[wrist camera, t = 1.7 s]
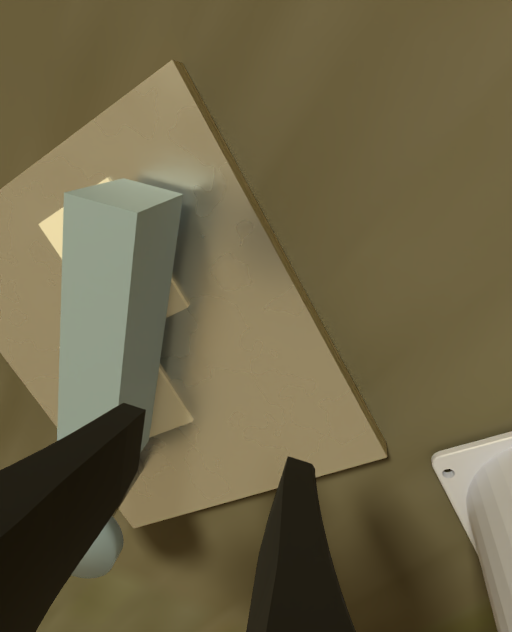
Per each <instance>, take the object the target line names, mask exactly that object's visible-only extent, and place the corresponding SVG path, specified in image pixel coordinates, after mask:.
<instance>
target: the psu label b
mask: <svg viewBox="0 0 512 632" xmlns="http://www.w3.org/2000/svg"><path fill="white" fill-rule="evenodd" d="M59 348H60V347H59ZM193 420H194V419H193V417H192V416H191V414H190V413H189V411H188V410H187V408H186V407H185V405H184V404H183V402H182V401H181V399H180V398H179V396H178V395H177V393H176V391H175V390H174V388H173V387H172V385H171V384H170V382H169V381H168V379H167V378H166V376H165V375H164V373H163V372H162V370H161V369H160V367H159V372H158V379H157V386H156V393H155V400H154V407H153V414H152V421H151V429H150V436H149V438H150V437H152V436H155V435H158V434H160V433H163V432H166V431H169V430H171V429H174V428H177V427H179V426H182V425H185V424H187V423H190V422H192V421H193Z"/></svg>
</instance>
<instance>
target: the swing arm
mask: <svg viewBox="0 0 512 632" xmlns="http://www.w3.org/2000/svg"><path fill="white" fill-rule="evenodd" d="M182 200H183V194H181V193H177V192H174V191H170V190H166V189H162V188H159V187H155V186H151V185H147V184H144V183H140V182H136V181H132V180H129V179H125V178H123V179H118V180H114V181H110V182H106V183H102V184H98V185H94V186H89V187H85V188H81V189H77V190H73V191H69V192H65V193H64V209H63V246H62V282H61V319H60V355H59V391H58V428H57V441H58V440H60V439H62V438H64V437H65V436H67V435H69V434H71V433H73V432H74V431H76V430H78V429H79V428H81V427H83V426H85V425H86V424H88V423H90V422H91V421H93V420H95V419H96V418H98V417H100V416H101V415H103V414H105V413H106V412H108V411H110V410H111V409H113V408H115V407H116V406H118V405H120V404H122V403H127V404H130V405H133V406H136V407H139V408H142V409H145V410H146V413H145V421H144V428H143V436H142V444H141V451H142V450H143V448H144V447H145V445H146V444H147V443H148V441H149V436H150V429H151V421H152V414H153V407H154V400H155V393H156V386H157V379H158V372H159V364H160V357H161V350H162V343H163V336H164V329H165V322H166V314H167V307H168V300H169V293H170V286H171V279H172V272H173V265H174V257H175V250H176V243H177V236H178V229H179V222H180V215H181V207H182ZM141 451H140V453H141ZM122 548H123V535H122V531H121V529H120V527H119V525H118V523H117V522H116V520H115V519H114V518H113V516H112V517H111V518H110V520H109V521H108V522H107V524H106V525H105V527H104V528H103V530H102V531H101V533H100V534H99V536H98V537H97V538H96V540H95V541H94V543H93V544H92V546H91V547H90V548H89V550H88V551H87V553H86V554H85V556H84V557H83V558H82V560H81V561H80V563H79V564H78V566H77V567H76V569H75V570H74V571H73V573H72V574H71V575H72V576H76V577H80V578H97V577H100V576H103V575H105V574H106V573H108V572H109V571H110V569H111V568H112V566H113V565H114V563H115V561H116V559H117V557H118V556H119V554H120V552H121V550H122Z"/></svg>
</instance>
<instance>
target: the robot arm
mask: <svg viewBox="0 0 512 632" xmlns="http://www.w3.org/2000/svg"><path fill="white" fill-rule="evenodd" d="M145 413H146V410H145V409H142V408H139V407H136V406H133V405H130V404H127V403H122V404H120V405H118V406H116V407H115V408H113V409H111V410H110V411H108V412H106V413H105V414H103V415H101V416H100V417H98V418H96V419H95V420H93V421H91V422H90V423H88V424H86V425H85V426H83V427H81V428H79V429H78V430H76V431H74V432H73V433H71V434H69V435H67V436H65V437H64V438H62V439H60V440H58V441H57V442H55V443H53V444H51V445H49V446H48V447H46V448H44V449H42V450H40V451H38V452H36V453H34V454H32V455H30V456H28V457H26V458H24V459H22V460H20V461H18V462H16V463H14V464H12V465H10V466H8V467H6V468H4V469H2V470H0V632H36V630H37V628H38V627H39V625H40V623H41V621H42V620H43V618H44V616H45V614H46V613H47V611H48V609H49V607H50V606H51V604H52V603H53V601H54V600H55V598H56V596H57V595H58V593H59V592H60V590H61V589H62V587H63V586H64V584H65V583H66V581H67V580H68V579H69V577H70V576H71V574H72V573H73V571H74V570H75V569H76V567H77V566H78V564H79V563H80V561H81V560H82V558H83V557H84V556H85V554H86V553H87V551H88V550H89V548H90V547H91V546H92V544H93V543H94V541H95V540H96V538H97V537H98V536H99V534H100V533H101V531H102V530H103V528H104V527H105V525H106V524H107V522H108V521H109V520H110V518H111V517H112V515H113V514H114V512H115V511H116V509H117V508H118V506H119V505H120V503H121V501H122V499H123V497H124V495H125V494H126V492H127V490H128V488H129V486H130V484H131V482H132V480H133V479H134V477H135V475H136V473H137V471H138V466H139V459H140V451H141V444H142V436H143V428H144V421H145ZM431 461H432V466H433V469H434V471H435V473H436V474H437V476H438V478H439V480H440V482H441V484H442V486H443V488H444V490H445V492H446V494H447V496H448V498H449V500H450V502H451V504H452V506H453V508H454V510H455V512H456V513H457V515H458V517H459V519H460V521H461V523H462V525H463V527H464V529H465V531H466V533H467V535H468V537H469V539H470V541H471V543H472V545H473V547H474V549H475V550H476V552H477V554H478V556H479V560H480V564H481V568H482V572H483V576H484V580H485V584H486V588H487V592H488V595H489V599H490V603H491V607H492V611H493V615H494V619H495V623H496V627H497V630H498V632H512V431H511V432H508V433H504V434H500V435H497V436H493V437H490V438H486V439H482V440H479V441H475V442H471V443H468V444H464V445H460V446H457V447H453V448H449V449H446V450H442V451H438V452H436V453H435V454H434V455H433V456H432V458H431ZM446 469H451V470H452V471H451V472H444V470H446ZM246 632H356V631H355V629H354V626H353V623H352V620H351V618H350V615H349V612H348V610H347V607H346V604H345V601H344V598H343V595H342V592H341V589H340V586H339V582H338V579H337V576H336V572H335V569H334V566H333V562H332V558H331V555H330V551H329V547H328V543H327V539H326V535H325V530H324V526H323V522H322V517H321V512H320V506H319V500H318V494H317V486H316V476H315V468H314V466H313V464H311V463H308V462H305V461H302V460H299V459H296V458H293V457H289V456H288V457H287V460H286V463H285V466H284V470H283V473H282V476H281V479H280V482H279V485H278V489H277V492H276V495H275V498H274V501H273V504H272V507H271V511H270V514H269V517H268V521H267V525H266V529H265V533H264V537H263V540H262V544H261V548H260V552H259V556H258V562H257V568H256V575H255V581H254V587H253V593H252V599H251V606H250V612H249V618H248V624H247V631H246Z"/></svg>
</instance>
